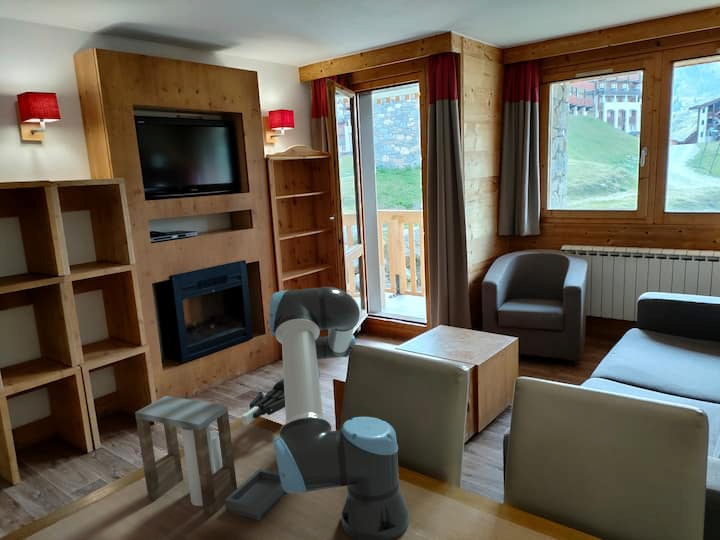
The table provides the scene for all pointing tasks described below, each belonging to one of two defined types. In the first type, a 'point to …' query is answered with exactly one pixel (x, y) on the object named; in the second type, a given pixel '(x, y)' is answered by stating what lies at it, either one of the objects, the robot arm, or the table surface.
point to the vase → (192, 460)
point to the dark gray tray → (256, 495)
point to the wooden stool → (196, 418)
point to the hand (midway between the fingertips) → (244, 420)
